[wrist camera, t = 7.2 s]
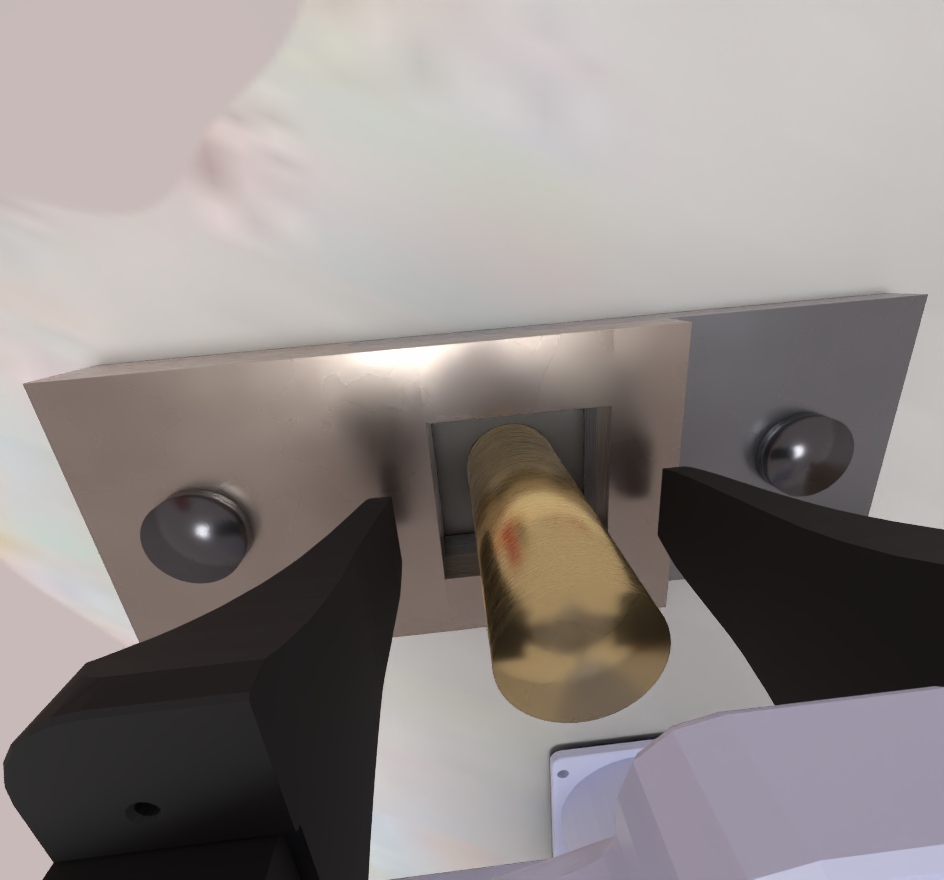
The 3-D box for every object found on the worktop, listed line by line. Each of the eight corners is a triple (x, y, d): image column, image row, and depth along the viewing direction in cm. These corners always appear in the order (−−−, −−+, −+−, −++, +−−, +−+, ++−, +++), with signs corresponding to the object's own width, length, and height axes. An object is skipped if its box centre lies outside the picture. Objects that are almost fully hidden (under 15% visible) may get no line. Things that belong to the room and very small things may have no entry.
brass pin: (552, 503, 15) (657, 716, 8) (467, 507, 15) (491, 728, 8) (557, 422, 14) (683, 578, 7) (465, 425, 14) (492, 588, 7)
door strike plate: (887, 293, 14) (1004, 296, 11) (828, 541, 17) (906, 593, 14) (96, 365, 13) (-1, 389, 10) (190, 610, 16) (137, 681, 13)
